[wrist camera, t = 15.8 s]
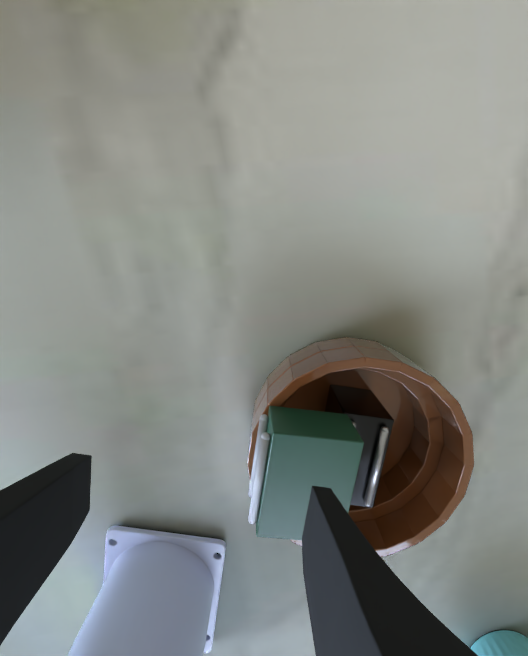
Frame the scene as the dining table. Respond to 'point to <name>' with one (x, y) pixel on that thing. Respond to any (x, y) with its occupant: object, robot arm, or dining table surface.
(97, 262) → the dining table surface
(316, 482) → the green clip
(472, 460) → the bowl
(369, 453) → the black clip
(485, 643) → the cupcake
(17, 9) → the dining table surface
